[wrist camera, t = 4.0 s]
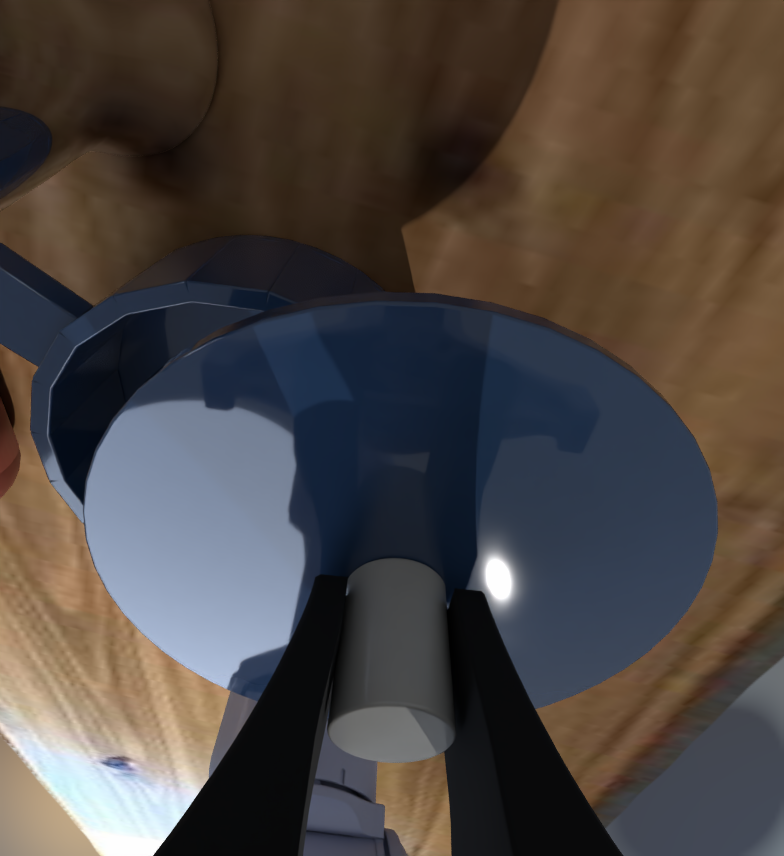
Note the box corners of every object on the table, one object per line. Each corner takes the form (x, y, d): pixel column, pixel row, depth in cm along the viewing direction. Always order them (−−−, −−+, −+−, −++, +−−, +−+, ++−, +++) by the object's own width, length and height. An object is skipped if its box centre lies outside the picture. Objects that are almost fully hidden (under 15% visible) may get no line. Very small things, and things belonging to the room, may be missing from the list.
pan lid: (407, 732, 18) (407, 886, 15) (19, 556, 13) (-124, 732, 9) (804, 549, 12) (966, 742, 8) (366, 66, 7) (319, 49, 3)
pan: (345, 573, 27) (334, 661, 23) (-8, 364, 20) (-116, 437, 16) (541, 432, 21) (574, 517, 17) (140, 67, 14) (29, 59, 10)
